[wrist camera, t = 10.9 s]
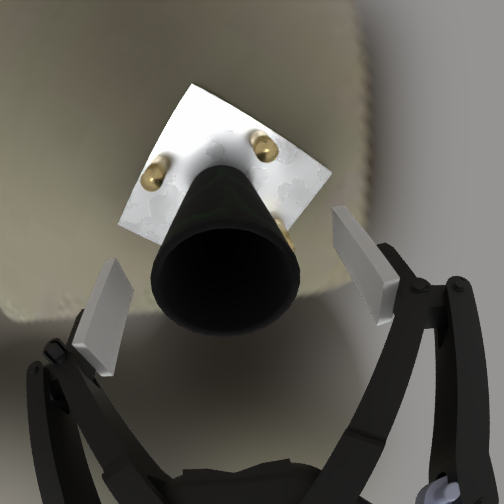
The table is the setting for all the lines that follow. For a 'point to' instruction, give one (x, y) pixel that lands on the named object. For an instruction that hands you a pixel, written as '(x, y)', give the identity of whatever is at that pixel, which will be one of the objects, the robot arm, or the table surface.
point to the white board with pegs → (220, 153)
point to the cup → (224, 259)
